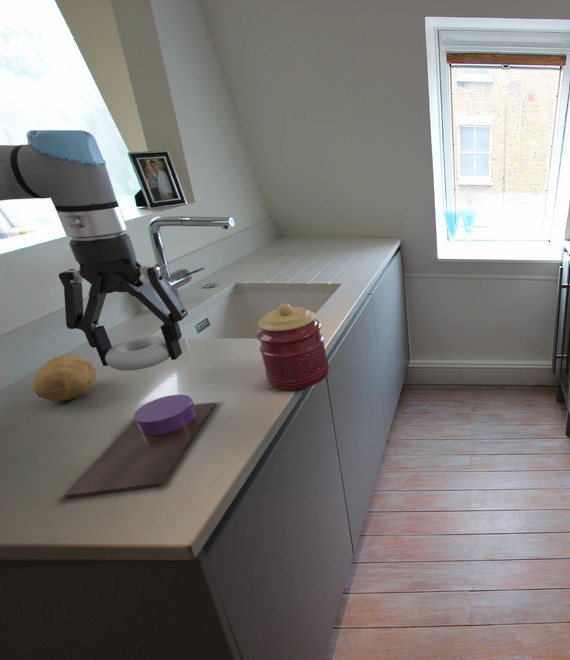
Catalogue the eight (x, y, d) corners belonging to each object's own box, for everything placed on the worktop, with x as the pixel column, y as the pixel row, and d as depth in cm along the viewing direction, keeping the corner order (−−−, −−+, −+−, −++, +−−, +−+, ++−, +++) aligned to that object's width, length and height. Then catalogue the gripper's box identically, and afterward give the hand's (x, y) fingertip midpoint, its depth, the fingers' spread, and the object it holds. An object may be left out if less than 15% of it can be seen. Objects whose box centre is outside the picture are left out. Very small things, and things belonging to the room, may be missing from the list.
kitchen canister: (328, 386, 96) (314, 311, 89) (263, 396, 93) (243, 318, 86) (330, 359, 108) (318, 291, 100) (273, 367, 104) (255, 296, 97)
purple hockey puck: (129, 438, 80) (123, 424, 78) (154, 409, 88) (149, 397, 86) (184, 432, 81) (179, 418, 80) (204, 405, 89) (200, 392, 88)
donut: (168, 369, 77) (183, 344, 86) (162, 351, 76) (178, 328, 84) (99, 379, 74) (121, 352, 83) (91, 361, 73) (115, 335, 81)
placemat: (66, 498, 67) (65, 495, 67) (144, 412, 88) (143, 409, 88) (161, 485, 70) (160, 482, 69) (216, 404, 90) (215, 402, 90)
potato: (101, 374, 102) (88, 343, 99) (103, 400, 92) (88, 366, 89) (43, 389, 96) (27, 356, 93) (38, 418, 86) (20, 382, 83)
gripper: (-5, 244, 65) (56, 376, 74) (167, 237, 70) (205, 362, 79) (32, 234, 72) (84, 356, 81) (186, 228, 76) (219, 344, 85)
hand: (144, 359), depth 80 cm, fingers closed on donut, 10 cm apart
